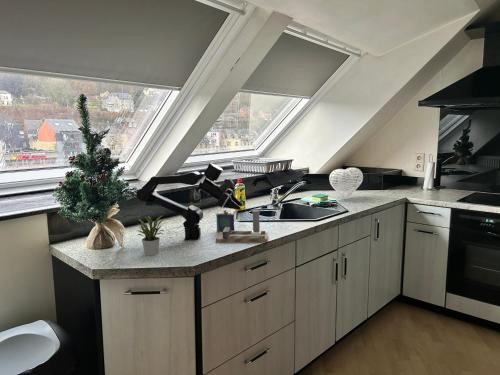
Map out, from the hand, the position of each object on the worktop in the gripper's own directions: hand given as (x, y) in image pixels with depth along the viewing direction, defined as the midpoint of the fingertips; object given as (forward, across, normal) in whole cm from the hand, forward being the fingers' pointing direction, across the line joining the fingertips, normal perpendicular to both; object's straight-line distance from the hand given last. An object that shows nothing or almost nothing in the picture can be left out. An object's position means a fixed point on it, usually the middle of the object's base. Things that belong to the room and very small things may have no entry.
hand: (241, 207), depth 176 cm
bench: (+8, 0, +12) cm, 15 cm away
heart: (+63, +102, -24) cm, 122 cm away
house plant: (-21, -21, +31) cm, 43 cm away
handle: (+13, 0, +7) cm, 15 cm away
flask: (0, +14, +18) cm, 22 cm away
